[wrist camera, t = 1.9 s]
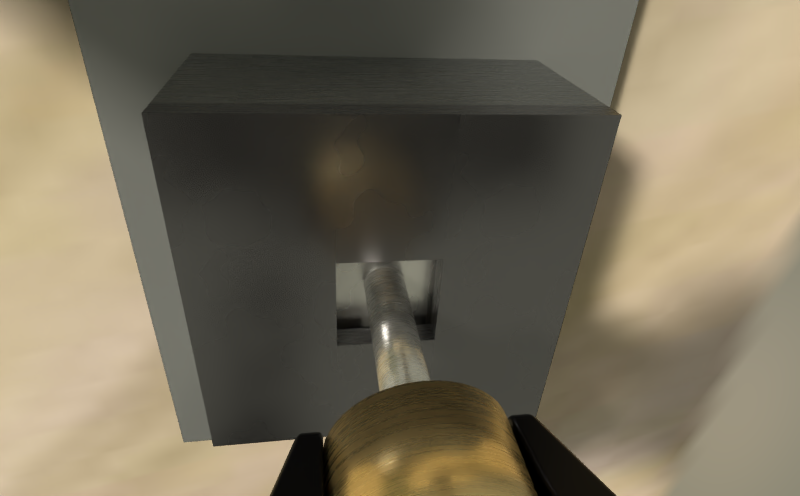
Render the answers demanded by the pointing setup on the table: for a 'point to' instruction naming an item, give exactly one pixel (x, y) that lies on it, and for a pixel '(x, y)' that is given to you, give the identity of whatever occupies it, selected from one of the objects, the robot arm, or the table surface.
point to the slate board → (308, 36)
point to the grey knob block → (370, 221)
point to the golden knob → (413, 403)
